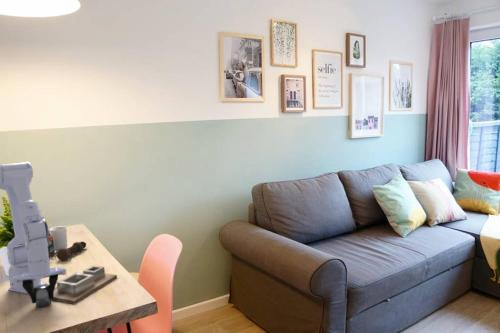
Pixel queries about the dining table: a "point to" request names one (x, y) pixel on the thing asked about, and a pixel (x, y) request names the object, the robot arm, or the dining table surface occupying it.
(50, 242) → the supplement bottle
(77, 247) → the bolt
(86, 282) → the fitting board
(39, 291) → the gray metal cylinder
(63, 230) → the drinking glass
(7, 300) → the dining table surface
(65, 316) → the dining table surface
